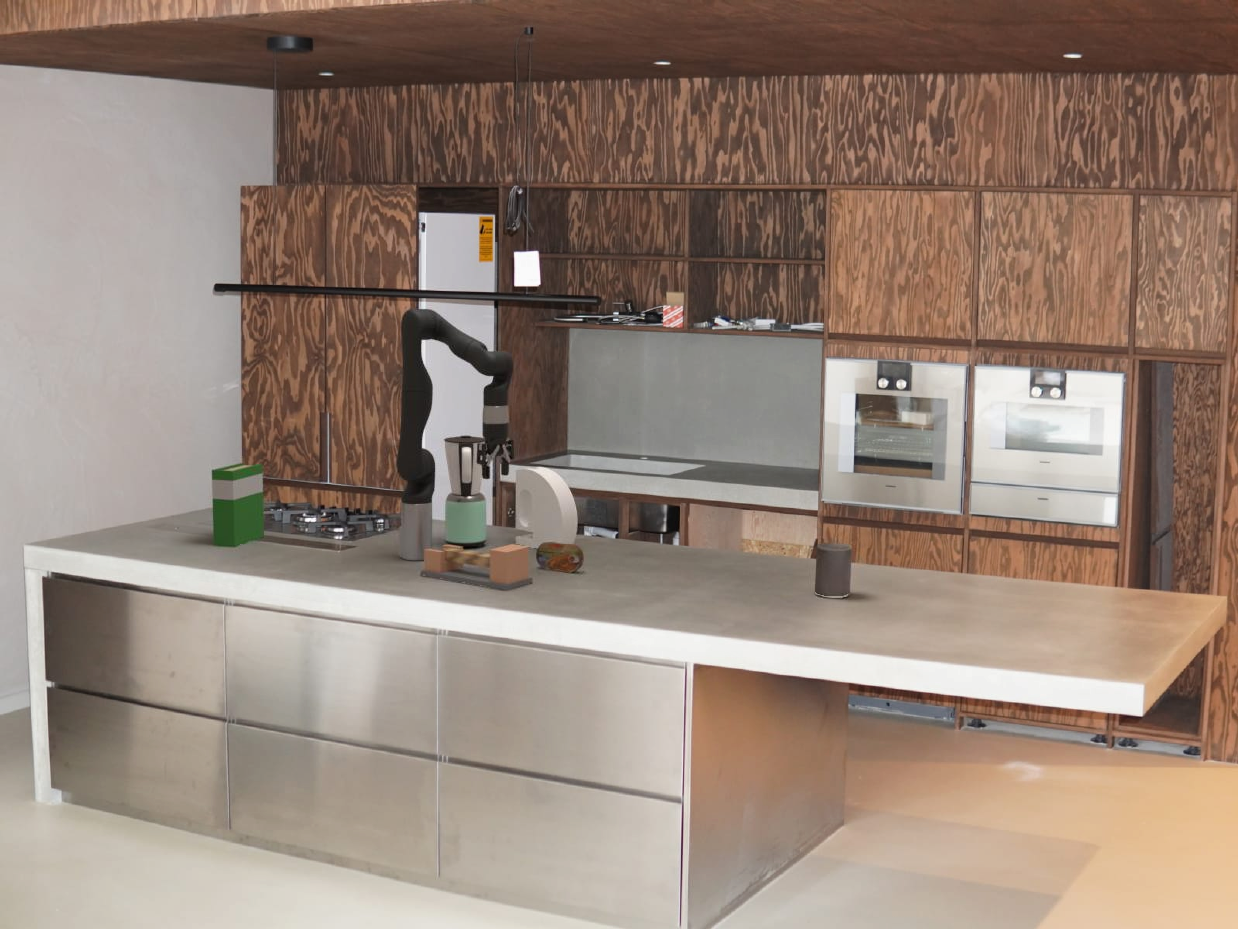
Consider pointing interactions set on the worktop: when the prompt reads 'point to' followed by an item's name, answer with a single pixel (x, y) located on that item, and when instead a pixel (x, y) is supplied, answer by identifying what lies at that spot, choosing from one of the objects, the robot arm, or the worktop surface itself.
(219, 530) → the hardback book
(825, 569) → the pillar candle
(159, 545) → the worktop surface
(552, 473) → the bracket
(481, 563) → the slat
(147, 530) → the worktop surface
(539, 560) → the tin
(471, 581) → the end cap rail
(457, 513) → the blender
